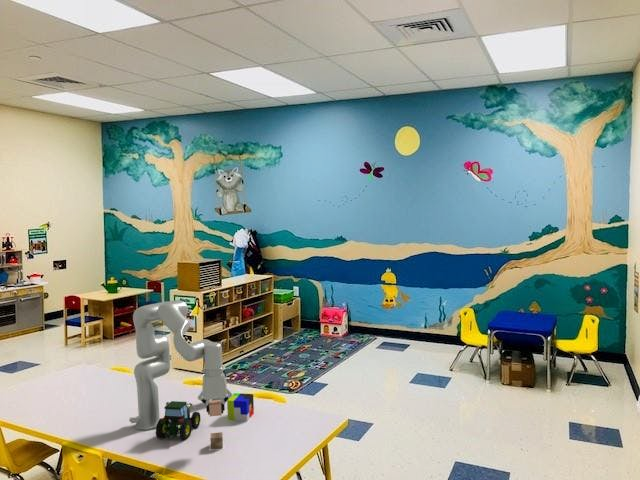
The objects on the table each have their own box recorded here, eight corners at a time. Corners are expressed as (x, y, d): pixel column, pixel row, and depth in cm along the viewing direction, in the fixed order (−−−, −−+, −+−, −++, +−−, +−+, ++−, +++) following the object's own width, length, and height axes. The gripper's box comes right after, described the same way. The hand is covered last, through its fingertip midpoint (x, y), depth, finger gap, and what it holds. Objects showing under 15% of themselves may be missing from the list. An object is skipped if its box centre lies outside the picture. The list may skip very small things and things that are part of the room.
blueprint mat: (197, 456, 222) (197, 454, 222) (199, 443, 234) (198, 442, 234) (230, 452, 224) (230, 451, 224) (230, 440, 236) (230, 439, 236)
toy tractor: (202, 424, 254) (201, 394, 253) (183, 445, 233) (182, 412, 232) (175, 423, 257) (173, 393, 256) (153, 443, 235) (152, 410, 234)
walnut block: (210, 449, 226) (210, 438, 226) (211, 444, 231) (210, 433, 231) (222, 448, 227) (222, 437, 227) (222, 443, 232) (222, 432, 231)
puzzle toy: (247, 421, 256) (246, 401, 256) (227, 420, 258) (227, 400, 258) (253, 413, 266) (253, 394, 265) (235, 412, 268) (234, 393, 267)
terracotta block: (209, 416, 225) (209, 405, 225) (210, 412, 230) (209, 400, 229) (221, 415, 226) (221, 404, 225) (221, 410, 231) (221, 399, 230)
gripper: (193, 376, 221) (195, 418, 223) (234, 372, 224) (235, 414, 226) (194, 370, 229) (196, 411, 230) (233, 367, 232) (235, 407, 233)
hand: (215, 412), depth 228 cm, fingers closed on terracotta block, 5 cm apart
